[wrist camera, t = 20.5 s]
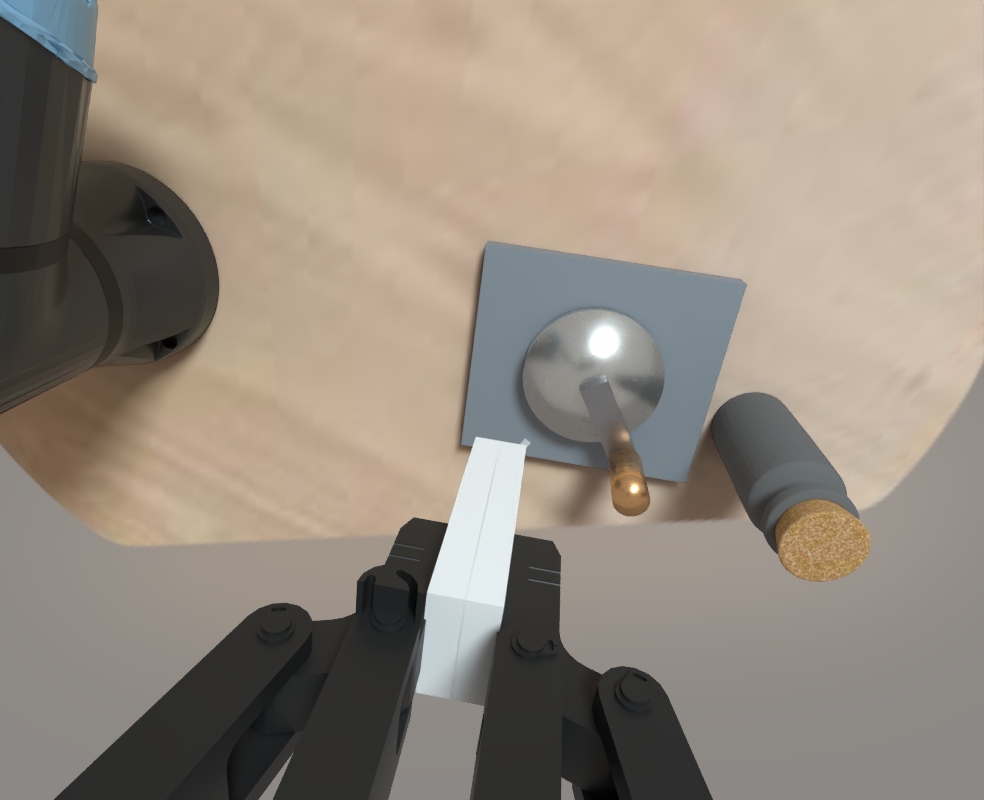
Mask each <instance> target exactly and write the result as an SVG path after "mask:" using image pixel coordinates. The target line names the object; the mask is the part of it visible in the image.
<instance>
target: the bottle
mask: <svg viewBox="0 0 984 800" xmlns="http://www.w3.org/2000/svg"><path fill="white" fill-rule="evenodd" d="M712 436H713V439H714V442H715V444H716V447H717V449H718V451H719V454H720V456H721V458H722V460H723V462H724V465H725V467H726V469H727V471H728V473H729V476H730V478H731V480H732V482H733V484H734V487H735V489H736V491H737V493H738V495H739V497H740V500H741V502H742V504H743V506H744V508H745V510H746V512H747V514H748V516H749V518H750V519H751V521H752V523H753V524H754V525H755V526H756V527H757V528H758V529H759V530H760V531H761V532H763V533H764V536H765V538H766V540H767V542H768V544H769V545H770V547H771V548H772V549H773V550H774V552H776V553H777V554H778V556H779V558H780V561H781V563H782V565H783V566H784V567H785V569H786V570H787V571H789V572H790V573H791V574H793V575H795V576H796V577H798V578H801V579H804V580H809V581H819V582H823V581H830V580H835V579H838V578H841V577H844V576H846V575H848V574H850V573H851V572H853V571H854V570H856V569H857V568H858V567H859V566H860V565H861V564H862V563H863V562H864V560H865V559H866V557H867V555H868V553H869V550H870V544H871V540H870V535H869V532H868V530H867V528H866V527H865V526H864V524H863V523H862V522H861V521H860V520H859V515H858V511H857V509H856V507H855V506H854V504H853V503H852V501H851V500H850V499H849V498H848V497H847V491H846V487H845V484H844V482H843V480H842V478H841V477H840V475H839V474H838V473H837V471H836V470H835V469H834V467H833V466H832V465H831V463H830V462H829V461H828V459H827V458H826V457H825V455H824V454H823V453H822V452H821V450H820V449H819V448H818V446H817V445H816V444H815V442H814V441H813V440H812V439H811V437H810V436H809V435H808V433H807V432H806V431H805V430H804V428H803V427H802V426H801V425H800V423H799V422H798V421H797V420H796V418H795V417H794V416H793V415H792V413H791V412H790V411H789V410H788V408H787V407H786V406H785V405H784V404H783V403H782V402H781V401H780V400H779V399H777V398H775V397H773V396H771V395H768V394H765V393H757V392H753V393H745V394H741V395H739V396H736V397H734V398H732V399H730V400H729V401H727V402H726V403H725V404H724V405H723V406H722V407H721V408H720V409H719V410H718V412H717V413H716V415H715V417H714V420H713V424H712Z"/></svg>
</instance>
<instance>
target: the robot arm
mask: <svg viewBox="0 0 984 800" xmlns="http://www.w3.org/2000/svg"><path fill="white" fill-rule="evenodd" d="M97 17H98V4H97V0H0V414H2V413H4V412H6V411H8V410H10V409H12V408H14V407H16V406H17V405H19V404H21V403H23V402H25V401H27V400H29V399H31V398H33V397H35V396H37V395H39V394H41V393H43V392H45V391H47V390H49V389H51V388H53V387H55V386H57V385H59V384H61V383H63V382H65V381H67V380H69V379H71V378H73V377H75V376H77V375H79V374H80V373H82V372H84V371H87V370H89V369H91V368H93V367H104V366H120V365H136V364H146V363H151V362H155V361H159V360H162V359H165V358H167V357H169V356H171V355H173V354H175V353H177V352H179V351H180V350H182V349H184V348H186V347H188V346H189V345H191V344H192V343H193V342H195V341H196V340H197V339H198V338H199V337H200V336H201V335H202V334H203V333H204V331H205V330H206V328H207V327H208V325H209V324H210V322H211V320H212V317H213V315H214V312H215V309H216V305H217V301H218V292H219V279H218V270H217V264H216V260H215V256H214V253H213V250H212V247H211V245H210V242H209V240H208V238H207V235H206V233H205V232H204V230H203V228H202V226H201V224H200V223H199V221H198V220H197V218H196V217H195V215H194V214H193V213H192V211H191V210H190V209H189V207H188V206H187V205H186V204H185V203H184V202H183V201H182V200H181V199H180V198H179V197H178V196H177V195H176V194H175V193H174V192H173V191H172V190H171V189H170V188H168V187H167V186H166V185H165V184H163V183H162V182H160V181H159V180H158V179H156V178H154V177H153V176H151V175H149V174H147V173H145V172H144V171H141V170H139V169H137V168H134V167H132V166H129V165H125V164H122V163H117V162H111V161H85V162H81V158H82V151H83V144H84V137H85V130H86V124H87V117H88V110H89V103H90V96H91V89H92V83H97V77H98V76H97V73H96V70H95V69H94V67H93V64H94V53H95V41H96V29H97ZM526 446H527V445H521V444H515V443H509V442H503V441H498V440H492V439H486V438H480V437H476V438H475V441H474V444H473V447H472V450H471V454H470V457H469V460H468V463H467V466H466V470H465V473H464V476H463V479H462V482H461V486H460V489H459V492H458V495H457V498H456V502H455V505H454V508H453V511H452V514H451V517H450V521H449V524H447V523H442V522H436V521H431V520H425V519H420V518H413V519H411V520H410V521H409V522H408V523H406V524H405V525H404V526H403V527H401V528H400V531H399V533H398V535H397V538H396V540H395V543H394V545H393V547H392V549H391V552H390V555H389V557H388V558H387V561H386V563H385V565H382V566H377V567H374V568H372V569H370V570H368V571H366V572H365V573H363V575H362V576H361V577H360V578H359V580H358V581H357V597H356V613H354V614H352V615H349V616H347V617H344V618H339V619H333V620H322V621H312V619H311V617H310V615H309V614H308V612H307V611H306V610H304V609H302V608H301V607H300V606H297V605H293V604H288V603H277V604H271V605H267V606H265V607H262V608H259V609H257V610H256V611H255V612H253V613H252V614H250V615H249V616H247V617H246V618H245V619H244V620H243V621H242V622H241V623H240V624H239V625H238V626H237V627H236V628H235V629H234V630H233V631H232V632H231V633H229V635H227V636H226V637H225V638H224V639H223V640H222V641H221V642H220V643H219V644H218V645H217V646H216V647H215V648H214V649H213V650H211V651H210V653H208V654H207V655H206V656H205V657H204V658H203V659H202V660H201V661H200V662H199V663H198V664H197V665H196V666H195V667H194V668H192V669H191V670H190V671H189V672H188V673H187V674H186V675H185V676H184V677H183V678H182V679H181V680H180V681H179V682H178V683H177V684H176V685H175V686H173V688H171V689H170V690H169V691H168V692H167V693H166V694H165V695H164V696H163V697H162V698H161V699H160V700H159V701H158V702H156V704H154V705H153V706H152V707H151V708H150V709H149V710H148V711H147V712H146V713H145V714H144V715H143V716H142V717H141V718H140V719H139V720H137V721H136V722H135V723H134V724H133V725H132V726H131V727H130V728H129V729H128V730H127V731H126V732H125V733H124V734H123V735H122V736H121V737H120V738H118V739H117V740H116V741H115V742H114V743H113V744H112V745H111V746H110V747H109V748H108V749H107V750H106V751H105V752H104V753H103V754H101V755H100V756H99V757H98V758H97V759H96V760H95V761H94V762H93V763H92V764H91V765H90V766H89V767H88V768H87V769H86V770H85V771H84V772H82V773H81V774H80V775H79V776H78V777H77V778H76V779H75V780H74V781H73V782H72V783H71V784H70V785H69V786H68V787H67V788H66V789H64V790H63V791H62V792H61V793H60V794H59V795H58V796H57V797H56V798H55V799H54V800H258V799H259V798H260V797H261V795H262V794H263V793H264V791H265V790H266V789H267V787H268V786H269V784H270V783H271V782H272V780H273V779H274V778H275V776H276V775H277V774H278V772H279V771H280V770H281V768H282V767H283V766H284V764H285V763H286V761H287V760H288V759H289V757H290V756H291V755H292V753H293V752H294V753H293V755H292V757H291V760H290V762H289V764H288V766H287V769H286V771H285V773H284V776H283V778H282V780H281V782H280V784H279V787H278V789H277V791H276V793H275V796H274V798H273V800H388V798H389V794H390V791H391V787H392V783H393V780H394V776H395V772H396V768H397V765H398V761H399V757H400V754H401V750H402V746H403V743H404V739H405V735H406V732H407V728H408V724H409V721H410V717H411V708H412V699H413V696H414V692H415V688H416V692H417V693H422V694H427V695H432V696H437V697H442V698H447V699H452V700H457V701H462V702H467V703H473V704H477V705H483V706H485V707H484V713H483V719H482V724H481V730H480V735H479V741H478V746H477V752H476V755H477V756H476V762H475V769H474V775H473V782H472V788H471V795H470V800H561V777H562V778H564V779H566V780H567V781H569V782H571V783H572V789H573V793H574V797H575V800H713V799H712V796H711V794H710V792H709V790H708V788H707V785H706V783H705V781H704V778H703V776H702V774H701V771H700V769H699V767H698V764H697V762H696V760H695V758H694V755H693V753H692V751H691V748H690V746H689V744H688V742H687V739H686V737H685V735H684V733H683V730H682V728H681V726H680V723H679V721H678V719H677V716H676V714H675V712H674V710H673V707H672V705H671V703H670V700H669V698H668V696H667V694H666V693H665V691H664V690H663V688H662V686H661V685H660V684H659V683H658V682H657V681H656V680H655V679H653V678H652V677H651V676H650V675H649V674H647V673H644V672H642V671H640V670H638V669H636V668H631V667H624V666H621V667H616V668H611V669H610V670H608V671H607V672H605V673H604V674H603V675H602V674H600V673H598V672H595V671H593V670H591V669H589V668H587V667H586V666H584V665H582V664H581V663H579V662H577V661H576V660H575V659H574V658H573V657H572V656H570V655H569V653H568V652H567V651H566V650H565V648H564V646H563V644H562V642H561V639H560V634H559V620H560V570H561V555H560V554H559V552H558V550H557V549H556V546H555V544H554V543H553V541H548V540H543V539H537V538H532V537H526V536H521V535H515V534H514V532H515V525H516V518H517V511H518V503H519V496H520V489H521V482H522V475H523V468H524V460H525V453H526ZM416 685H417V687H416Z"/></svg>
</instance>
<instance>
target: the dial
mask: <svg viewBox="0 0 984 800" xmlns="http://www.w3.org/2000/svg"><path fill="white" fill-rule="evenodd" d="M664 381H665V371H664V364H663V360H662V357H661V354H660V352H659V349H658V347H657V345H656V342H655V340H654V339H653V337H652V336H651V334H650V333H649V332H648V330H647V329H646V328H645V327H644V326H643V325H642V324H641V323H640V322H639V321H637V320H636V319H634V318H633V317H631V316H630V315H628V314H626V313H623V312H621V311H618V310H615V309H612V308H606V307H596V306H593V307H582V308H577V309H573V310H570V311H567V312H565V313H563V314H561V315H559V316H557V317H556V318H554V319H552V320H551V321H550V322H549V323H547V324H546V325H545V326H544V327H543V328H542V329H541V330H540V331H539V332H538V334H537V335H536V336H535V338H534V339H533V341H532V343H531V345H530V347H529V349H528V352H527V355H526V360H525V365H524V370H523V388H524V392H525V396H526V399H527V402H528V404H529V406H530V408H531V410H532V411H533V413H534V414H535V415H536V417H537V418H538V419H539V420H540V421H541V422H542V423H543V424H544V425H545V426H546V427H548V428H549V429H550V430H552V431H553V432H555V433H557V434H559V435H561V436H563V437H565V438H568V439H571V440H576V441H581V442H601V443H602V445H603V448H604V450H605V453H606V455H607V457H608V467H609V475H610V484H611V492H612V500H613V505H614V508H615V509H616V510H617V511H618V512H619V513H621V514H623V515H625V516H637V515H640V514H642V513H643V512H645V511H646V510H647V508H648V507H649V504H650V496H649V492H648V487H647V483H646V478H645V474H644V470H643V465H642V461H641V458H640V456H639V454H638V453H637V451H636V449H635V446H634V444H633V441H632V439H631V436H630V434H629V433H630V432H632V431H633V430H635V429H636V428H638V427H639V426H640V425H641V424H643V423H644V422H645V421H646V420H647V419H648V418H649V416H650V415H651V414H652V413H653V411H654V410H655V408H656V406H657V405H658V402H659V400H660V398H661V395H662V392H663V387H664Z"/></svg>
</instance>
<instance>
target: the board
mask: <svg viewBox="0 0 984 800" xmlns="http://www.w3.org/2000/svg"><path fill="white" fill-rule="evenodd" d="M746 285H747V284H746V283H745V282H743V281H742V280H741V279H734V278H728V277H721V276H715V275H708V274H702V273H695V272H689V271H682V270H676V269H669V268H663V267H656V266H650V265H643V264H637V263H630V262H624V261H617V260H611V259H604V258H598V257H591V256H585V255H578V254H572V253H565V252H558V251H552V250H545V249H539V248H532V247H526V246H519V245H513V244H506V243H500V242H493V241H488V242H487V243H486V247H485V255H484V263H483V271H482V279H481V287H480V296H479V304H478V312H477V320H476V328H475V336H474V344H473V352H472V360H471V368H470V377H469V385H468V393H467V401H466V409H465V417H464V425H463V433H462V441H461V445H466V446H472V447H473V444H474V441H475V438H476V437H480V438H486V439H492V440H498V441H503V442H509V443H515V444H521V445H527V446H526V453H525V456H530V457H535V458H541V459H547V460H553V461H559V462H564V463H570V464H576V465H582V466H588V467H593V468H599V469H605V470H609V467H608V457H607V455H606V453H605V450H604V448H603V445H602V443H601V442H581V441H576V440H571V439H568V438H565V437H563V436H561V435H559V434H557V433H555V432H553V431H552V430H550V429H549V428H548V427H546V426H545V425H544V424H543V423H542V422H541V421H540V420H539V419H538V418H537V417H536V415H535V414H534V413H533V411H532V410H531V408H530V406H529V404H528V402H527V399H526V396H525V392H524V388H523V370H524V365H525V360H526V355H527V352H528V349H529V347H530V345H531V343H532V341H533V339H534V338H535V336H536V335H537V334H538V332H539V331H540V330H541V329H542V328H543V327H544V326H545V325H546V324H547V323H549V322H550V321H551V320H552V319H554V318H556V317H557V316H559V315H561V314H563V313H565V312H567V311H570V310H573V309H577V308H582V307H593V306H596V307H606V308H612V309H615V310H618V311H621V312H623V313H626V314H628V315H630V316H631V317H633V318H634V319H636V320H637V321H639V322H640V323H641V324H642V325H643V326H644V327H645V328H646V329H647V330H648V332H649V333H650V334H651V336H652V337H653V339H654V340H655V342H656V345H657V347H658V349H659V352H660V354H661V357H662V360H663V364H664V371H665V381H664V387H663V392H662V395H661V398H660V400H659V402H658V405H657V406H656V408H655V410H654V411H653V413H652V414H651V415H650V416H649V418H648V419H647V420H646V421H645V422H644V423H643V424H641V425H640V426H639V427H638V428H636V429H635V430H633V431H632V432H630V433H629V434H630V436H631V439H632V441H633V444H634V446H635V449H636V451H637V453H638V454H639V456H640V458H641V461H642V465H643V470H644V474H645V477H651V478H657V479H663V480H669V481H674V482H680V483H685V482H686V479H687V476H688V472H689V469H690V466H691V463H692V460H693V456H694V453H695V450H696V447H697V443H698V440H699V437H700V434H701V431H702V427H703V424H704V421H705V418H706V414H707V411H708V408H709V405H710V401H711V398H712V395H713V392H714V389H715V385H716V382H717V379H718V376H719V372H720V369H721V366H722V363H723V360H724V356H725V353H726V350H727V347H728V343H729V340H730V337H731V334H732V331H733V327H734V324H735V321H736V318H737V314H738V311H739V308H740V305H741V301H742V298H743V295H744V292H745V289H746Z"/></svg>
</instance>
